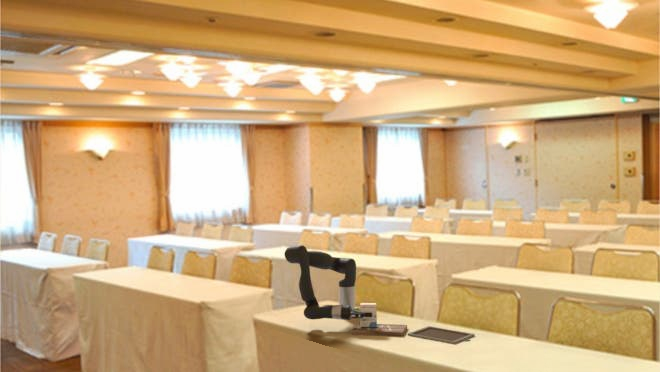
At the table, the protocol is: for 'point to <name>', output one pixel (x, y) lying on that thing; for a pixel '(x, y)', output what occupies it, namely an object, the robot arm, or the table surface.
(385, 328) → the walnut board
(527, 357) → the table surface
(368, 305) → the ink box
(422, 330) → the grey framed brown panel
